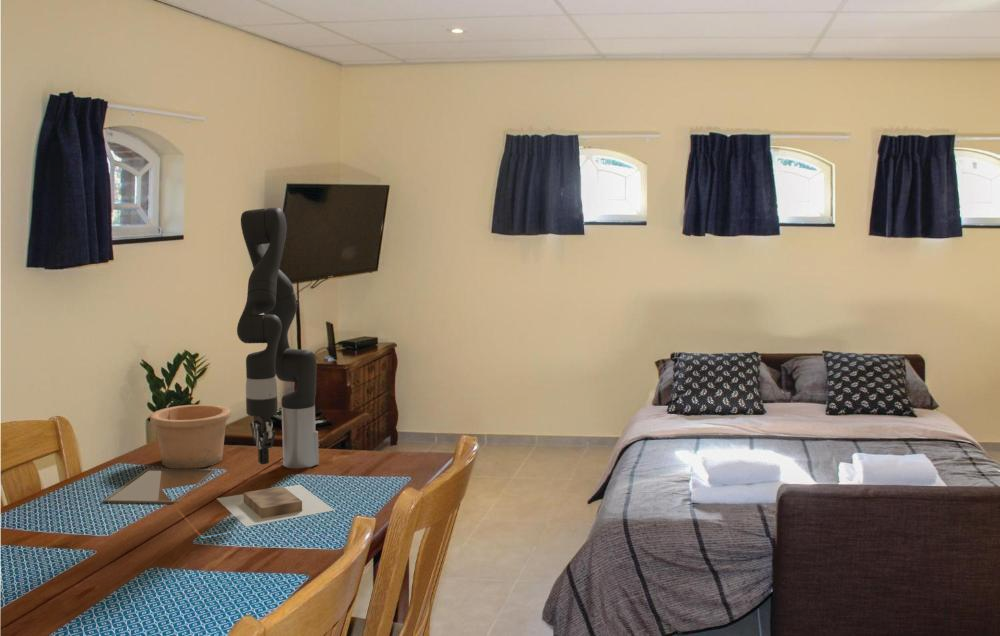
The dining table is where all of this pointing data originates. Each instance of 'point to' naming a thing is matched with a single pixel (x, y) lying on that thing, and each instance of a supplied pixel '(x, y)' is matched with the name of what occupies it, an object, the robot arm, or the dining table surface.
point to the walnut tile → (272, 502)
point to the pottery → (190, 435)
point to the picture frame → (157, 485)
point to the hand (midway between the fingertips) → (263, 463)
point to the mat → (250, 518)
